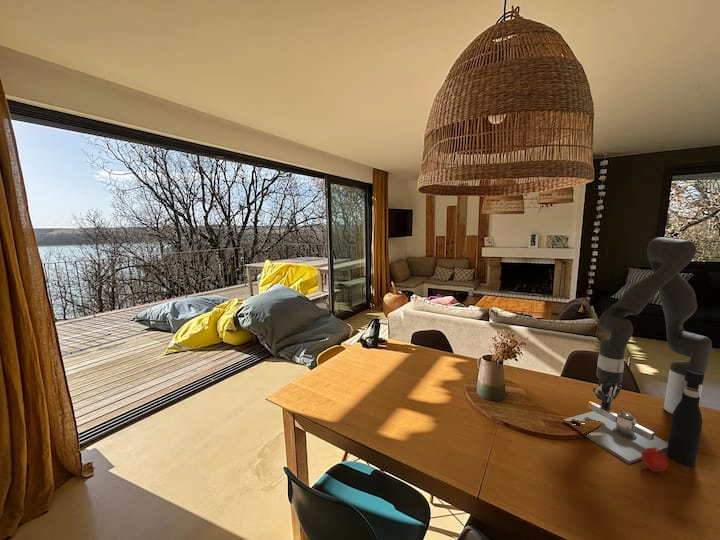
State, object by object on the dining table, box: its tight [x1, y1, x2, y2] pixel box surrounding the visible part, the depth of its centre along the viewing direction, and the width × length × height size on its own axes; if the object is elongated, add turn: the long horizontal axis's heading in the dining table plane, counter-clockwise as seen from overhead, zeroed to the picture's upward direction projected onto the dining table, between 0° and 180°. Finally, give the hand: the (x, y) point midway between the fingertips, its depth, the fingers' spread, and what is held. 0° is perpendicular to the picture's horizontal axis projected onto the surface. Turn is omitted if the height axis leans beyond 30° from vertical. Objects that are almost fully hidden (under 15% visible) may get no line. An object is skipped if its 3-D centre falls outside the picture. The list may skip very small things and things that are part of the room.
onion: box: [641, 447, 669, 472], centre depth 92 cm, size 6×6×8 cm
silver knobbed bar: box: [587, 401, 655, 441], centre depth 109 cm, size 20×5×7 cm, turn 22°
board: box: [562, 410, 668, 465], centre depth 109 cm, size 22×22×1 cm
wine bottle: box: [666, 369, 705, 468], centre depth 95 cm, size 6×6×30 cm
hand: (605, 409), depth 116 cm, fingers closed
